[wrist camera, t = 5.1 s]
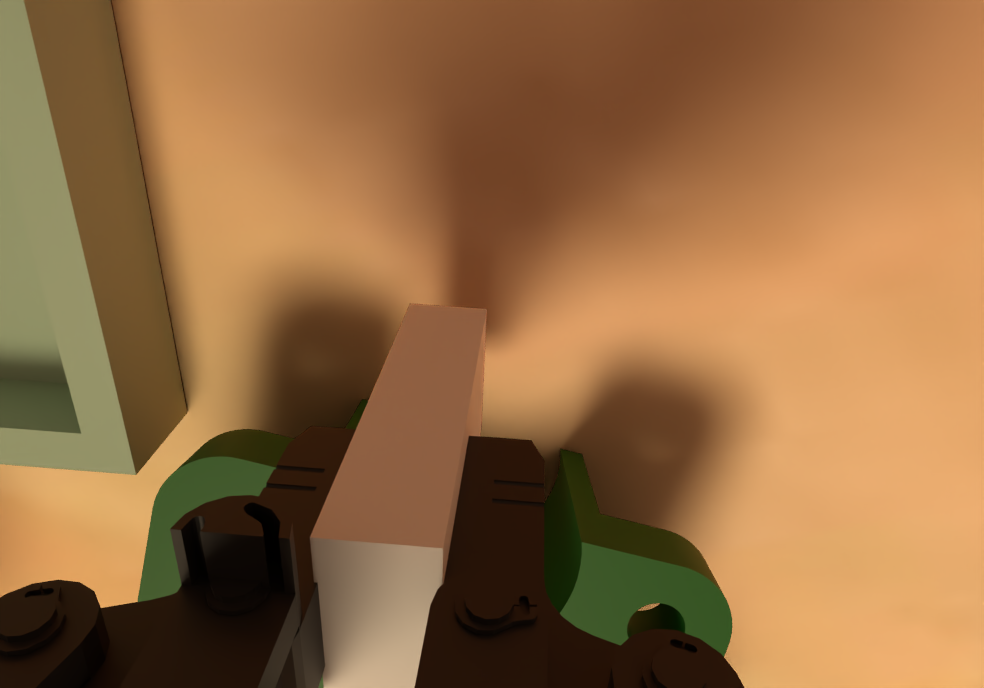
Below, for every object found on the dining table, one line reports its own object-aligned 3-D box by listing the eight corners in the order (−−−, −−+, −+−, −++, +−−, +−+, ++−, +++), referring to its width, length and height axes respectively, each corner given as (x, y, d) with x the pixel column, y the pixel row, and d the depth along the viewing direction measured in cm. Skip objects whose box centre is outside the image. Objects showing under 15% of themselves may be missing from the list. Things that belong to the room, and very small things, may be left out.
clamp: (590, 404, 22) (818, 582, 14) (538, 571, 23) (718, 819, 15) (169, 354, 17) (154, 592, 9) (134, 573, 18) (94, 948, 10)
